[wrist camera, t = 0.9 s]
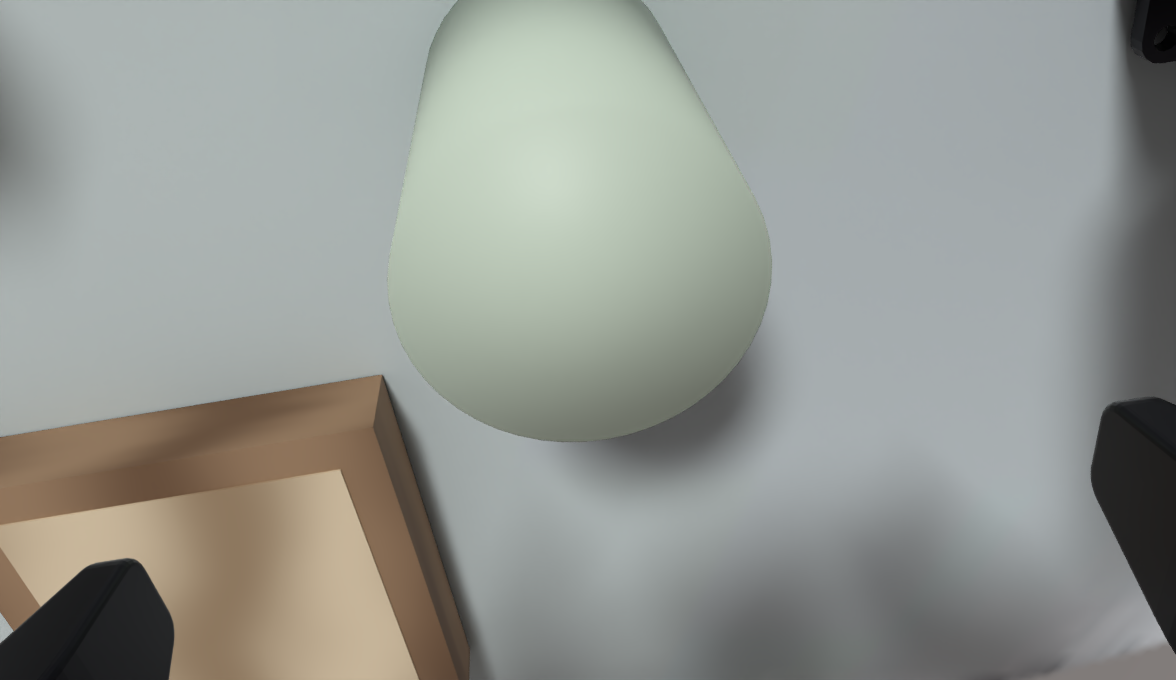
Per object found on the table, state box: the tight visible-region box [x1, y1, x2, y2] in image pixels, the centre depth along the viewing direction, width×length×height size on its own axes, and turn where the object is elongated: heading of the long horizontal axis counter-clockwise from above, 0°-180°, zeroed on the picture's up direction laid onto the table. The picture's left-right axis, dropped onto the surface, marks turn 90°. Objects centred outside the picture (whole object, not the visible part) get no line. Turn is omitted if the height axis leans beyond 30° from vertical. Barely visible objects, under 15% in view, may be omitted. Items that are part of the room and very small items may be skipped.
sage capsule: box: [387, 0, 772, 442], centre depth 16 cm, size 5×5×8 cm
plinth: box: [0, 375, 470, 680], centre depth 24 cm, size 10×10×2 cm
